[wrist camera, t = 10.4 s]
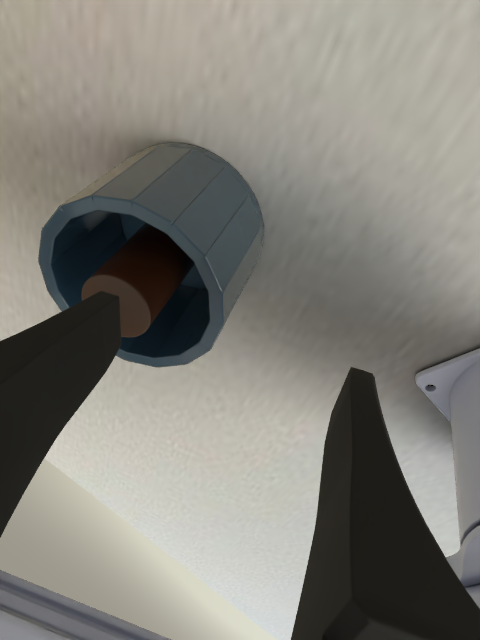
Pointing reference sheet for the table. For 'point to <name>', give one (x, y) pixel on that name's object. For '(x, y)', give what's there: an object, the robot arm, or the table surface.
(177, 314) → the pen cup
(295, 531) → the table surface
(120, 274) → the walnut peg
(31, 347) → the robot arm
